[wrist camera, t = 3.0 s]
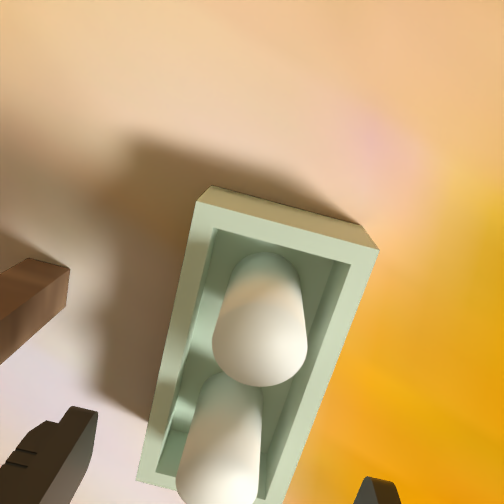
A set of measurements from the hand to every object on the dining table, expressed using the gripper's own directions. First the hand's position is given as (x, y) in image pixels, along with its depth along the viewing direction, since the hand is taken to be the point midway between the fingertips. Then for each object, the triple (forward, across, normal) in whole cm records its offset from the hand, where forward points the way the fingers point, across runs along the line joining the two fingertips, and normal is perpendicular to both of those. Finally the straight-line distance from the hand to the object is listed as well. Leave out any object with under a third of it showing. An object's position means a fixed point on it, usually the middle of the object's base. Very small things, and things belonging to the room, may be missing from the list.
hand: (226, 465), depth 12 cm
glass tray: (+6, 0, -1) cm, 6 cm away
